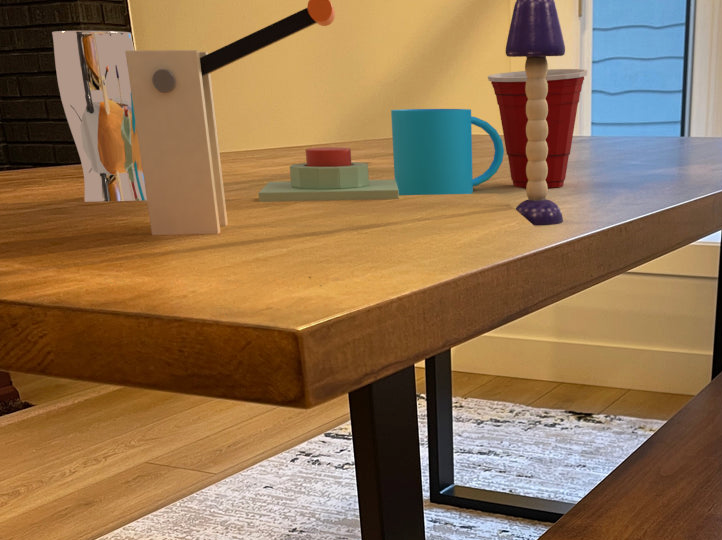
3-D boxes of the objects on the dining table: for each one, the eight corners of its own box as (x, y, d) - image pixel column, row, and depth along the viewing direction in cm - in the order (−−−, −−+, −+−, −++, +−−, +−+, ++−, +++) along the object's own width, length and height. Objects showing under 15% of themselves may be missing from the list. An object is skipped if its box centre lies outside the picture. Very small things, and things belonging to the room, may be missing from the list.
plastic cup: (469, 187, 111) (466, 69, 106) (526, 179, 119) (526, 69, 114) (549, 193, 105) (550, 68, 100) (604, 184, 113) (607, 68, 108)
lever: (341, 26, 69) (325, -10, 68) (339, 22, 64) (322, -17, 63) (170, 107, 69) (151, 72, 68) (154, 108, 64) (134, 71, 63)
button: (305, 171, 88) (304, 150, 88) (308, 167, 92) (306, 147, 91) (351, 170, 89) (350, 149, 88) (352, 167, 92) (350, 147, 92)
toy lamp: (564, 226, 81) (567, -5, 74) (507, 227, 81) (505, -5, 74) (561, 219, 85) (564, -1, 78) (506, 219, 85) (505, 0, 78)
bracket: (278, 238, 75) (260, 52, 70) (267, 258, 67) (245, 49, 62) (127, 242, 74) (98, 53, 69) (97, 262, 66) (61, 49, 61)
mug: (408, 198, 100) (404, 111, 97) (386, 191, 107) (381, 109, 104) (518, 193, 105) (517, 109, 101) (490, 186, 111) (489, 107, 108)
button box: (260, 218, 87) (255, 170, 85) (271, 205, 96) (266, 161, 94) (399, 215, 88) (397, 168, 86) (396, 203, 97) (394, 159, 95)
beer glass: (165, 210, 93) (141, 31, 87) (86, 215, 90) (55, 29, 84) (149, 203, 98) (125, 34, 92) (74, 207, 95) (44, 33, 89)
